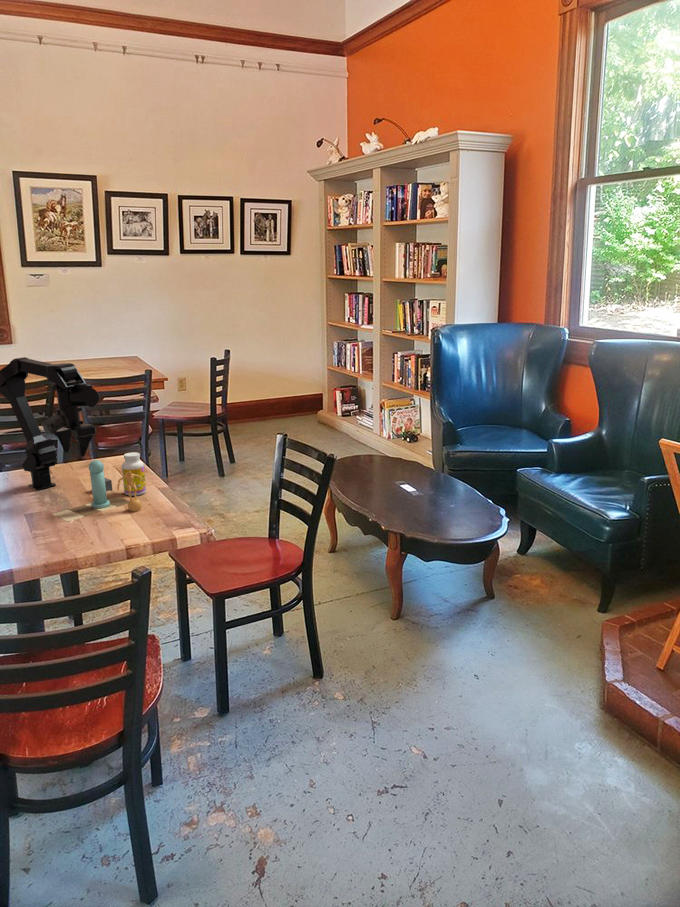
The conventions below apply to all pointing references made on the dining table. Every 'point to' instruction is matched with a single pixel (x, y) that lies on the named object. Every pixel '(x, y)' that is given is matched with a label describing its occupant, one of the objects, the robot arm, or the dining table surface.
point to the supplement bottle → (135, 468)
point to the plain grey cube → (108, 484)
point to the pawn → (98, 485)
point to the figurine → (133, 503)
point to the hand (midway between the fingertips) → (74, 454)
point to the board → (89, 509)
